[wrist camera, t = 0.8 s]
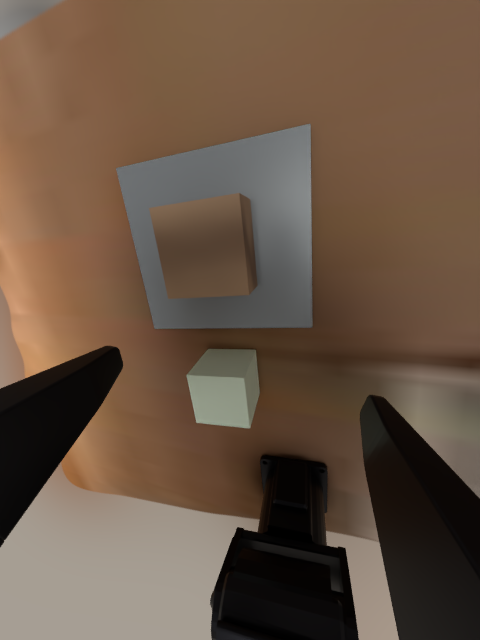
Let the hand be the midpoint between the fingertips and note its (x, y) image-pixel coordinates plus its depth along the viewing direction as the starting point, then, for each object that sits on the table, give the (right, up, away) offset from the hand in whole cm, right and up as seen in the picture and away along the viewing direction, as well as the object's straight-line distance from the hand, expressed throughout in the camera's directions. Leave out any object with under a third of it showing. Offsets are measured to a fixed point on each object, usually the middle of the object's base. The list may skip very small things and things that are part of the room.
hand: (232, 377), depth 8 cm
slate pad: (-2, +8, +10) cm, 13 cm away
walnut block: (-2, +7, +10) cm, 12 cm away
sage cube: (0, -3, +14) cm, 14 cm away
